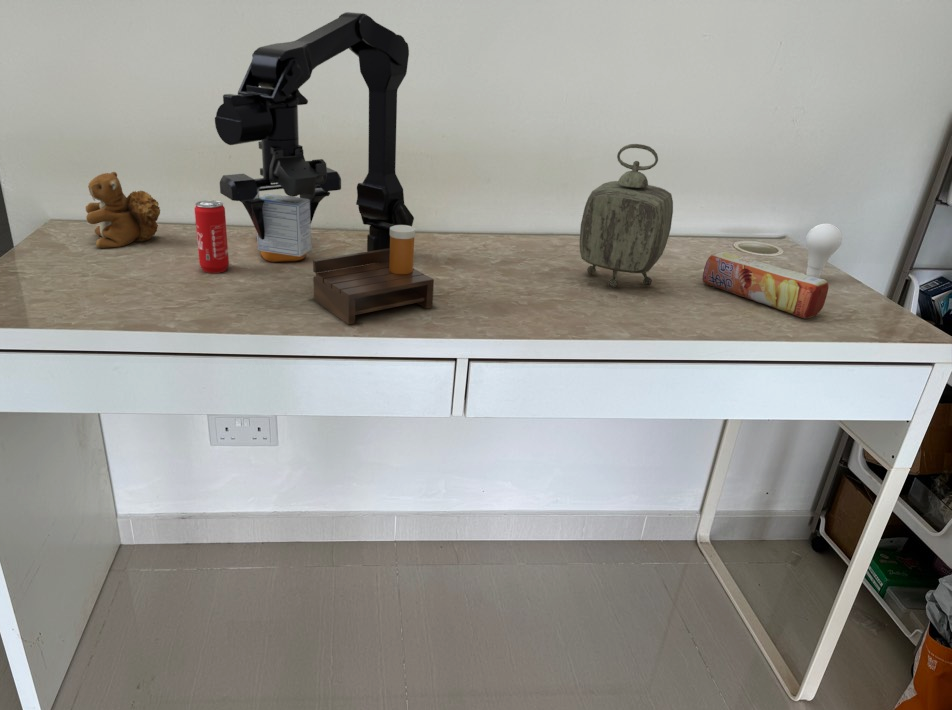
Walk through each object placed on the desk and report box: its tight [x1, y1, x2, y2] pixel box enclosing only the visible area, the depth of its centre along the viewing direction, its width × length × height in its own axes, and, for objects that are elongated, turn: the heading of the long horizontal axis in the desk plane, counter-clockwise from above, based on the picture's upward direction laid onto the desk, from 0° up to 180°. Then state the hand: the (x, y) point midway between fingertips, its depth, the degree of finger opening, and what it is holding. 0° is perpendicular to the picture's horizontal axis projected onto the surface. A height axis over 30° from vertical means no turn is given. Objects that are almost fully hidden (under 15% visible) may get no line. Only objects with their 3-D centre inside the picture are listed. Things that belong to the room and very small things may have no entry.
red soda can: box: [194, 199, 230, 274], centre depth 138 cm, size 5×5×12 cm
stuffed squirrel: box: [85, 171, 161, 249], centre depth 150 cm, size 10×14×13 cm
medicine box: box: [256, 193, 313, 257], centre depth 126 cm, size 8×4×9 cm, turn 71°
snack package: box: [701, 251, 830, 320], centre depth 137 cm, size 21×7×7 cm, turn 36°
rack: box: [312, 248, 435, 326], centre depth 127 cm, size 16×12×7 cm
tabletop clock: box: [579, 143, 674, 289], centre depth 137 cm, size 14×9×25 cm, turn 62°
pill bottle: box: [389, 225, 416, 274], centre depth 128 cm, size 4×4×7 cm
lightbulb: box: [805, 222, 843, 278], centre depth 148 cm, size 6×6×11 cm
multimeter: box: [260, 251, 307, 263], centre depth 152 cm, size 9×18×3 cm, turn 13°
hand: (283, 236), depth 127 cm, fingers closed on medicine box, 7 cm apart
